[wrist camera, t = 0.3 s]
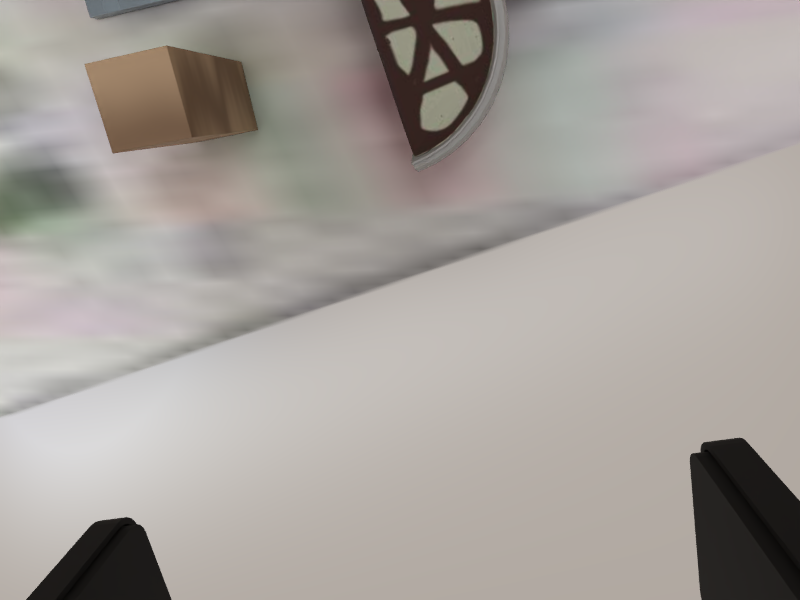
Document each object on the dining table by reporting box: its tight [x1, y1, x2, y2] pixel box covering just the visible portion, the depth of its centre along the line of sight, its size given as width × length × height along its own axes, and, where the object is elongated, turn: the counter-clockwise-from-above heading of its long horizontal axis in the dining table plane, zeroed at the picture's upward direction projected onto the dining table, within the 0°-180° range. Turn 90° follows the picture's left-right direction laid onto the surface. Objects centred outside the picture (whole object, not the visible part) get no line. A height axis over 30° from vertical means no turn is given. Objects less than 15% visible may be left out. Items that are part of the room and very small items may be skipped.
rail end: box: [85, 46, 258, 153], centre depth 32 cm, size 4×4×10 cm
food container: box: [361, 0, 509, 172], centre depth 30 cm, size 12×6×10 cm, turn 20°
